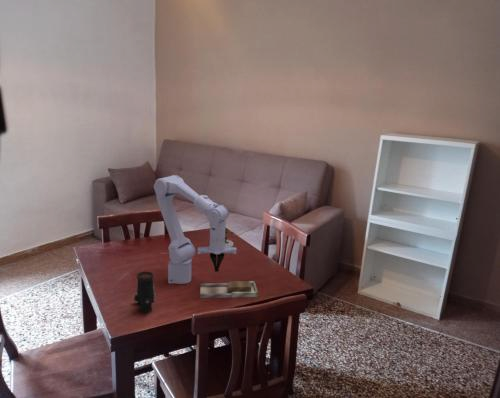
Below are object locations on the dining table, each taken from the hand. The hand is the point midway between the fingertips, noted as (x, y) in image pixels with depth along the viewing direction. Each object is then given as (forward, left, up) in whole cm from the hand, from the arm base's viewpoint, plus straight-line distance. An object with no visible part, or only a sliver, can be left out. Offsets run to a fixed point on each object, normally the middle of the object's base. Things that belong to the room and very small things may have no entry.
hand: (216, 270), depth 150 cm
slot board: (+5, 0, -10) cm, 11 cm away
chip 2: (+11, 0, -9) cm, 14 cm away
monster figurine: (+5, +49, -10) cm, 50 cm away
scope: (-25, -10, -10) cm, 29 cm away
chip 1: (+7, 0, -9) cm, 11 cm away
